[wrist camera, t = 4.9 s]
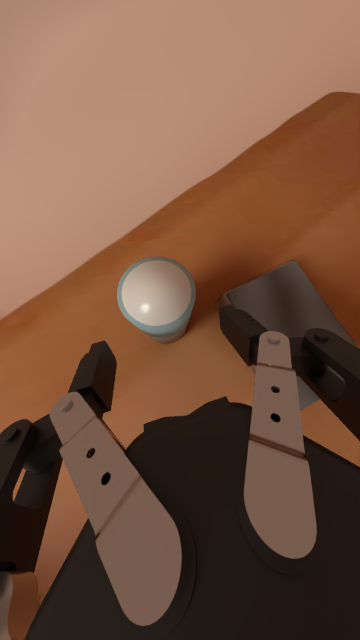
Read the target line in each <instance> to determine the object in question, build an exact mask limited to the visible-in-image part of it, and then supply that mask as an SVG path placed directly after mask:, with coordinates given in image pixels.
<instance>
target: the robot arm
mask: <svg viewBox="0 0 360 640" xmlns="http://www.w3.org/2000/svg"><path fill="white" fill-rule="evenodd" d="M219 315H220V327H221V330H222V332H223V334H224V335H225V337H226V338H227V339H228V341H229V342H230V343H231V344H232V346H233V347H234V348H235V350H236V351H237V352H238V354H239V355H240V356H241V358H242V359H243V360H244V362H245V363H246V364H247V366H251V365H255V366H256V377H255V387H254V396H253V406H252V407H251V406H249V405H246V404H242V403H234V402H229V401H228V399H227V397H226V396H225V397H222V398H220V399H217V400H214V401H211V402H208V403H206V404H204V405H203V406H201V407H200V408H198V409H197V410H195V411H194V412H192V413H191V414H189V415H187V416H174V417H163V418H160V419H157V420H155V421H152V422H149V423H146V424H144V432H143V433H142V434H140V435H139V436H138V437H137V438H136V439H135V440H134V441H133V442H132V443H131V444H130V445H129V446H128V448H127V449H126V448H125V447H124V446H123V444H122V443H121V442H120V441H119V440H118V438H117V437H116V436H115V434H114V433H113V432H112V431H111V429H110V428H109V427H108V426H107V424H106V423H105V422H104V421H103V419H102V417H103V413H105V412H108V411H111V405H112V397H113V390H114V382H115V374H116V367H117V363H116V359H115V356H114V355H113V353H112V351H111V349H110V348H109V346H108V344H107V343H106V341H101V342H98V343H94V344H92V345H91V348H90V351H89V353H87V354H85V356H84V357H83V358H82V359H81V360H80V363H79V366H78V368H77V371H76V374H75V376H74V379H73V381H72V384H71V386H70V389H69V391H68V394H66V395H64V396H63V397H61V398H60V399H59V400H58V401H57V402H56V403H55V404H54V405H53V407H52V409H51V411H50V413H49V414H48V415H46V416H44V417H43V418H41V419H39V420H37V421H36V422H34V423H31V422H30V421H29V420H27V419H22V420H19V421H17V422H15V423H13V424H11V425H10V426H9V427H7V428H6V429H5V430H4V431H3V432H2V433H1V434H0V640H360V467H359V466H357V465H355V464H353V463H351V462H350V461H348V460H346V459H344V458H343V457H341V456H339V455H337V454H336V453H334V452H332V451H330V450H328V449H327V448H325V447H323V446H321V445H320V444H318V443H316V442H314V441H312V440H311V439H309V438H307V437H305V436H304V435H303V433H302V424H301V415H300V406H299V397H298V388H297V379H296V376H299V377H300V378H301V379H302V380H303V381H304V382H305V383H306V384H307V385H308V386H309V388H310V389H311V390H312V391H313V392H314V393H315V394H316V395H317V396H318V397H319V398H320V399H321V400H322V401H323V402H324V403H325V405H326V406H327V407H328V408H329V409H330V410H331V411H332V412H333V413H334V414H335V415H336V416H337V417H338V418H339V419H340V420H341V422H342V423H343V424H344V425H345V426H346V427H347V428H348V429H349V430H350V431H351V432H352V433H353V434H354V435H355V436H356V438H357V439H358V440H359V441H360V349H359V348H357V347H356V346H354V345H352V344H351V343H349V342H348V341H346V340H344V339H343V338H341V337H340V336H338V335H337V334H335V333H333V332H331V331H329V330H326V329H321V328H312V329H308V330H307V331H306V332H305V334H304V337H293V338H288V337H287V336H286V335H284V334H282V333H280V332H275V331H269V330H267V329H266V328H265V327H264V326H263V325H262V324H260V323H259V322H258V321H257V320H255V319H254V318H253V317H251V315H250V314H249V313H247V312H246V311H243V310H241V309H238V310H236V309H235V308H234V307H233V306H232V305H231V304H230V305H226V306H223V307H220V308H219ZM328 367H330V368H331V369H333V370H334V371H335V372H336V373H337V374H339V375H340V376H341V377H342V378H343V379H344V381H345V382H344V381H343V380H341V379H340V378H339V377H338V376H337V375H336V374H334V373H333V372H332V371H331V370H330V369H328ZM62 460H63V461H64V463H65V465H66V467H67V470H68V472H69V474H70V477H71V479H72V481H73V483H74V486H75V488H76V490H77V493H78V495H79V497H80V499H81V502H82V504H83V506H84V509H85V511H86V513H87V515H88V519H87V521H86V523H85V525H84V527H83V529H82V530H81V532H80V534H79V536H78V538H77V540H76V541H75V543H74V545H73V547H72V549H71V551H70V552H69V554H68V556H67V558H66V560H65V562H64V563H63V565H62V567H61V569H60V571H59V573H58V574H57V576H56V578H55V580H54V582H53V584H52V585H51V587H50V589H49V591H48V593H47V594H46V596H45V598H44V600H43V602H42V604H41V605H40V596H39V595H38V594H37V593H38V581H37V578H36V576H35V574H34V570H35V566H36V562H37V558H38V554H39V550H40V547H41V543H42V539H43V535H44V531H45V527H46V523H47V519H48V515H49V511H50V507H51V504H52V500H53V496H54V492H55V488H56V484H57V480H58V476H59V472H60V468H61V464H62ZM22 468H23V469H26V472H25V474H24V477H23V480H22V482H21V485H20V487H19V490H18V492H17V495H16V497H15V500H14V502H13V490H14V488H15V485H16V483H17V480H18V478H19V475H20V473H21V471H22ZM39 606H40V607H39Z"/></svg>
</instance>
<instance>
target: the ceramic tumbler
mask: <svg viewBox="0 0 360 640" xmlns="http://www.w3.org/2000/svg"><path fill="white" fill-rule="evenodd" d="M195 298H196V288H195V283H194V280H193V278H192V276H191V274H190V273H189V271H188V270H187V269H186V268H185V267H184V266H183V265H181V264H180V263H179V262H177V261H175V260H172V259H170V258H166V257H149V258H145V259H142V260H140V261H138V262H136V263H135V264H133V265H132V266H130V267H129V268H128V269H127V270H126V271H125V273H124V274H123V276H122V277H121V279H120V282H119V284H118V289H117V300H118V305H119V307H120V310H121V312H122V313H123V315H124V316H125V317H126V318H127V319H128V320H129V321H130V322H131V323H132V324H134V325H135V326H136V327H138V328H139V329H140V330H142V331H143V332H144V333H146V334H147V335H148V336H150V337H151V338H153V339H154V340H155V341H157V342H159V343H164V344H169V343H173V342H176V341H177V340H179V339H180V338H181V337H182V336H183V335H184V333H185V331H186V328H187V325H188V322H189V319H190V316H191V312H192V309H193V306H194V302H195Z"/></svg>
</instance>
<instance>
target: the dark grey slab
mask: <svg viewBox="0 0 360 640" xmlns="http://www.w3.org/2000/svg"><path fill="white" fill-rule="evenodd" d="M215 304H216V306H217V308H218V310H219V308H220V307H223V306H226V305H230V304H231V305H232V306H233V307H234V308H235V309H236V310H238V309H241V310H243V311H246V312H247V313H249V314H250V315H251V317H253V318H254V319H255V320H257V321H258V322H259V323H260V324H262V325H263V326H264V327H265V328H266V329H267V330H269V331H275V332H280V333H282V334H284V335H286V336H287V337H288V338H293V337H304V334H305V332H306V331H307V330H308V329H312V328H321V329H326V330H329V331H331V332H333V333H335V334H337V335H338V336H340V337H341V338H343V339H344V340H346V341H348V342H349V343H351V344H352V345H354V346H356V345H355V343H354V342H353V341H352V339H351V338H350V336H349V335H348V334H347V332H346V331H345V329H344V328H343V327H342V325H341V324H340V322H339V321H338V320H337V318H336V317H335V315H334V314H333V313H332V311H331V310H330V308H329V307H328V306H327V304H326V303H325V301H324V300H323V299H322V297H321V296H320V294H319V293H318V292H317V290H316V289H315V287H314V286H313V285H312V283H311V282H310V280H309V279H308V277H307V276H306V275H305V273H304V272H303V270H302V269H301V268H300V266H299V265H298V263H297V262H296V261H292V260H291V261H289V262H287V263H285V264H283V265H281V266H279V267H277V268H275V269H273V270H271V271H268V272H266V273H264V274H262V275H260V276H258V277H256V278H254V279H252V280H250V281H248V282H246V283H244V284H242V285H239V286H237V287H235V288H233V289H231V290H229V291H227V292H225V293H223V294H222V295H221V296H220V298H219V299H218V300H217V302H216V303H215ZM356 347H357V346H356ZM251 368H252V369H253V371H254V373H255V375H256V366H255V365H251ZM328 369H330V370H331V371H332V372H333V373H334V374H336V375H337V376H338V377H339V378H340V379H341V380H343V381H344V379H343V378H342V377H341V376H340V375H339V374H337V373H336V372H335V371H334V370H333V369H331V368H330V367H328ZM296 379H297V388H298V397H299V406H300V410H302V409H304V408H305V407H307V406H309V405H310V404H312V403H313V402H315V401H317V400H318V399H320V398H319V397H318V396H317V395H316V394H315V393H314V392H313V391H312V390H311V389H310V388H309V386H308V385H307V384H306V383H305V382H304V381H303V380H302V379H301V378H300V377H299V376H296ZM344 382H345V381H344Z"/></svg>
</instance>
